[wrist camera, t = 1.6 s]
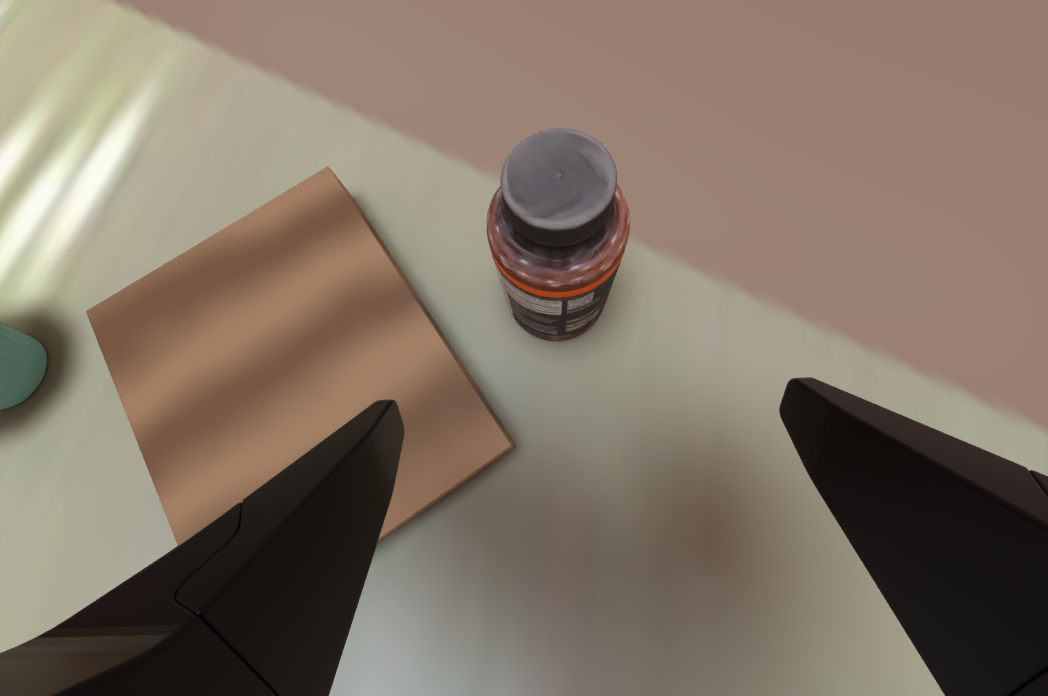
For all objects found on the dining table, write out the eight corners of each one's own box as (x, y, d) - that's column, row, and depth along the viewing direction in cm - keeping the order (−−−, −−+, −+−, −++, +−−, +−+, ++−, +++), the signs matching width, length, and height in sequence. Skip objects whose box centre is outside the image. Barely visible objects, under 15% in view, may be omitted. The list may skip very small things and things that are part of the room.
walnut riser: (516, 445, 22) (511, 445, 19) (265, 622, 21) (219, 651, 18) (352, 196, 27) (328, 166, 24) (138, 326, 25) (85, 311, 23)
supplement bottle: (548, 235, 25) (548, 73, 14) (624, 289, 24) (687, 158, 13) (487, 303, 24) (437, 187, 13) (562, 363, 23) (574, 289, 12)
